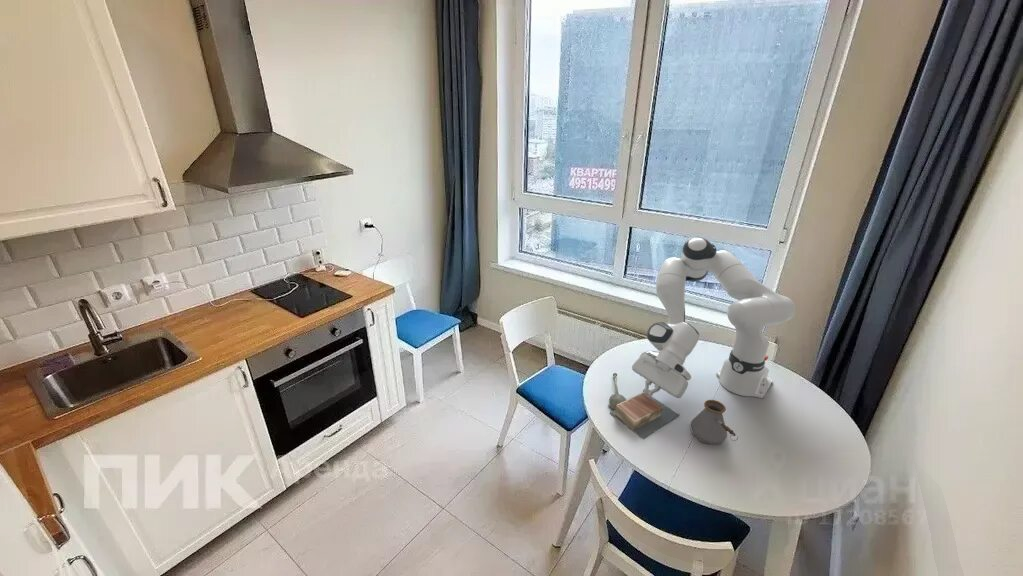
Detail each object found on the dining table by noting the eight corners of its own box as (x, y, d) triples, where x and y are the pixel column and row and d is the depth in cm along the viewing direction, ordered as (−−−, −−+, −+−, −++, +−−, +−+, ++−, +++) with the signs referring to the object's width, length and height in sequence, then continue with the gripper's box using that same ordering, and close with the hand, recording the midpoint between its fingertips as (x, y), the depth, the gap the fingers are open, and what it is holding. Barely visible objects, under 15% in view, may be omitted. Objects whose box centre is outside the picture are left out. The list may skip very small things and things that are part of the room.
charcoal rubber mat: (645, 393, 159) (645, 392, 159) (679, 415, 148) (679, 414, 148) (609, 413, 149) (610, 412, 149) (643, 438, 138) (643, 437, 137)
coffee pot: (684, 422, 145) (693, 388, 139) (718, 425, 144) (728, 391, 138) (704, 471, 126) (715, 434, 120) (743, 475, 125) (756, 437, 119)
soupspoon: (608, 411, 150) (627, 414, 149) (609, 404, 149) (628, 406, 148) (607, 375, 170) (623, 377, 169) (608, 368, 168) (624, 370, 167)
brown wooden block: (643, 392, 152) (616, 404, 145) (663, 407, 145) (635, 421, 139) (641, 400, 154) (614, 413, 147) (660, 415, 147) (633, 430, 140)
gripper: (641, 346, 154) (621, 376, 153) (690, 373, 139) (668, 407, 138) (647, 352, 158) (627, 382, 157) (695, 379, 143) (673, 412, 142)
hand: (646, 394), depth 147 cm, fingers closed
